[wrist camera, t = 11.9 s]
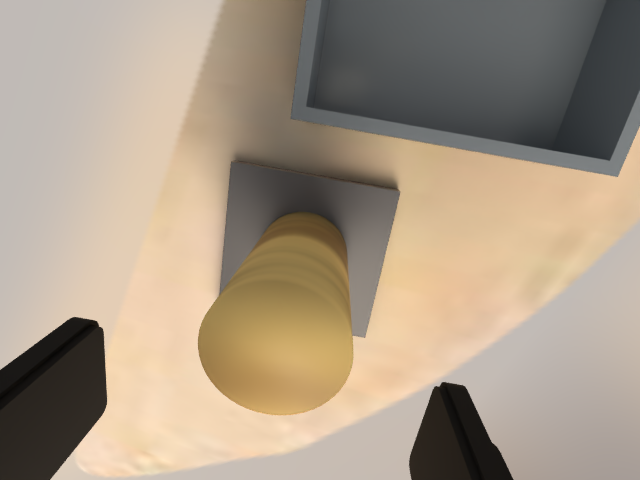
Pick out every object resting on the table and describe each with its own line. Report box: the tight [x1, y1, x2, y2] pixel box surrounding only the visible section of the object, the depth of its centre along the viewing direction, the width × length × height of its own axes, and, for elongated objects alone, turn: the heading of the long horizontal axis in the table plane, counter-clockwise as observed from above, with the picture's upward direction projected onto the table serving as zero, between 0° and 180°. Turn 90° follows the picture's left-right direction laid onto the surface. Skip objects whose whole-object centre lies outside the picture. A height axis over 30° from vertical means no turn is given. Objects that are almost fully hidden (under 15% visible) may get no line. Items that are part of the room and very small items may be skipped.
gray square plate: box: [220, 161, 400, 338], centre depth 22 cm, size 10×10×1 cm
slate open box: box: [291, 0, 640, 177], centre depth 16 cm, size 10×15×5 cm
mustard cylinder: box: [198, 212, 353, 415], centre depth 17 cm, size 6×6×10 cm
